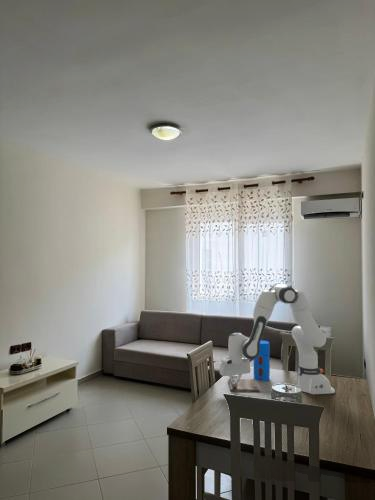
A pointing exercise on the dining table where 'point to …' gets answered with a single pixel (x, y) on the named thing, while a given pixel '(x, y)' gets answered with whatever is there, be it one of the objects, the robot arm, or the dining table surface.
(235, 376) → the lever
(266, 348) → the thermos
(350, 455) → the dining table surface
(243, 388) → the press base
